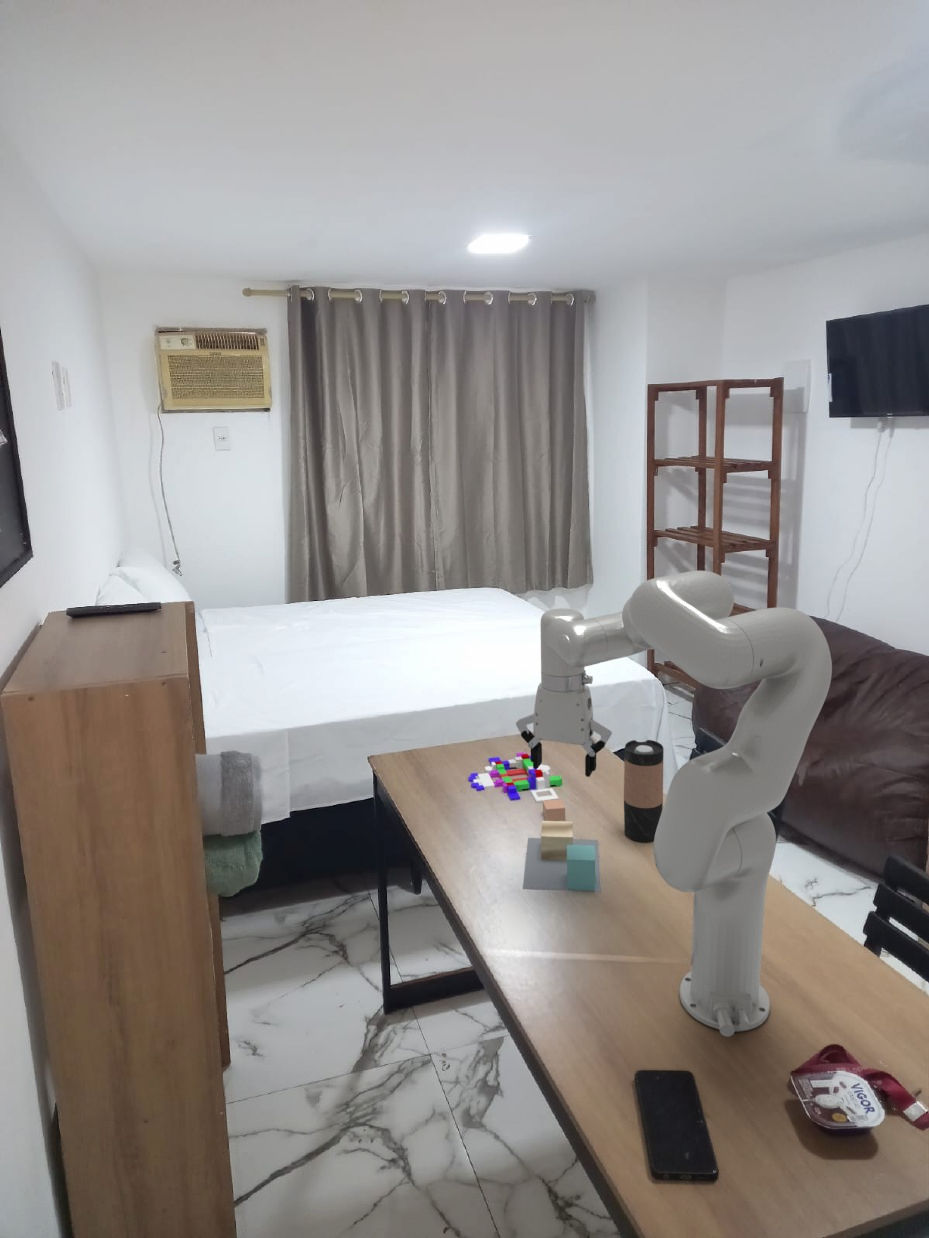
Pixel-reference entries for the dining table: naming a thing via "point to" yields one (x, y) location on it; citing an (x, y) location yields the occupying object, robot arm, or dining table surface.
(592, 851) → the teal block
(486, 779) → the building block set
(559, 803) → the terracotta block
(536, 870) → the build board
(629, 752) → the travel mug
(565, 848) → the beech block
